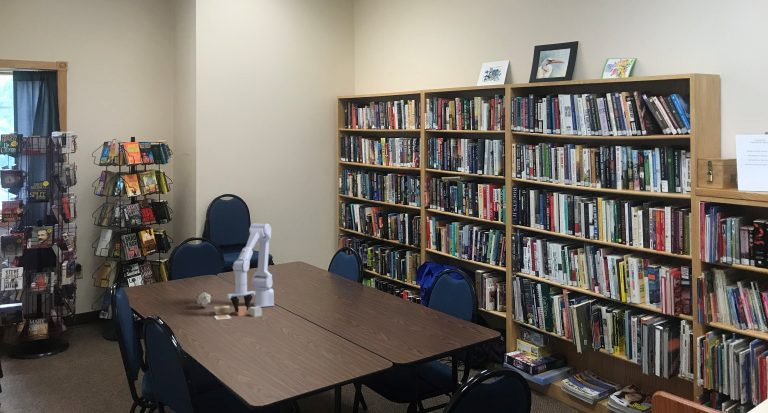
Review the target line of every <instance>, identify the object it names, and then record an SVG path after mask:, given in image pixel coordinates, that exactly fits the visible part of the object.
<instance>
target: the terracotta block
mask: <svg viewBox="0 0 768 413" xmlns="http://www.w3.org/2000/svg"><path fill="white" fill-rule="evenodd" d="M247 312H248V310H247V307H246V306H245V304H244V305H238V312H236V315H237V316H239V317H241V316H247V314H248V313H247Z"/></svg>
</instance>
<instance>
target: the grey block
mask: <svg viewBox="0 0 768 413" xmlns="http://www.w3.org/2000/svg"><path fill="white" fill-rule="evenodd" d="M262 309H263V308H262V307H258V306H249V316H252V317H254V318H256V317H261V316H263V310H262Z"/></svg>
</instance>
